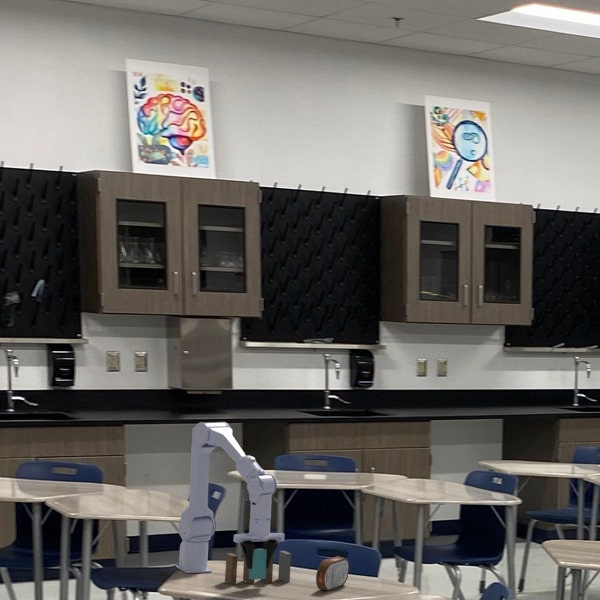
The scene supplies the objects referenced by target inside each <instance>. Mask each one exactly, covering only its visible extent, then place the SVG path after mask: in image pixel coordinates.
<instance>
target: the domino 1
mask: <svg viewBox="0 0 600 600" xmlns="http://www.w3.org/2000/svg"><path fill="white" fill-rule="evenodd" d="M238 557H239V556H238V555H236V554H234V553H232V552H227V553H226V555H225V572H224V574H225V575H224V582H225V581H226V582H228V583H230V584H236V585H237V575H238V574H237V573H238V571H237V570H238ZM226 582H225V583H226ZM228 583H227V584H228ZM230 584H229V585H230Z"/></svg>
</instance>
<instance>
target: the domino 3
mask: <svg viewBox="0 0 600 600" xmlns="http://www.w3.org/2000/svg"><path fill="white" fill-rule="evenodd" d="M273 568H274V554H273V555H272V558H271V560H270V564H269V568H266V579H260V581H261V582H263V583H266V584H273V575H274V573H273V571H274V569H273Z"/></svg>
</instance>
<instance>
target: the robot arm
mask: <svg viewBox="0 0 600 600" xmlns="http://www.w3.org/2000/svg"><path fill="white" fill-rule="evenodd" d="M233 431H234V430H233V428H231V426H230V425H229V424H228V423H227V422H225V421H217V422H202V421H201V422H198V423H197V424H196V425H194V427H193V428H192V432H191V446H190V447H191V449H190V450H191V451H190V469H189V471H190V473H189V475H190V476H189V497H188V499H189V501H188V503H189V504H188V506H187V507H186V508H185V509H184V510H183V511H182V512H181V513H180V521H179V523H178V527H177V528H178V533H179V536H180V538H181V540H182V541H181V543H180V545H179V560H178V564H177V565H175V567H176V568H177V569H179V570H181V571H182V572H184V573H185V574H197V573H199V574H200V573H201V574H202V573H212V572H213V570H212V569H210V568H208V560H209V559H208V557H209V556H208V555H209V554H208V553H209V541H210V540H211V538H212V536H214V533H215V530H216V522H215V520H214V512H213V511H212V510H211V509H210V508H209V476H210V475H209V474H210V455H211V453H212V452H213V450H215V449H216V448H218V447H220V448H221V449H223V450H224V452H226V454H227V455H228V456H229V457H230V458H231V459H232V460H233V461H234V462H235V470H236V471H237V472H238V473H239V475H240V476H241V477H242V479H243V480H244V482H245V483H246V489H247V492H248V495H249V497H248V499H249V502H250V512H249V527H248V528H249V529H248V530H249V531H248V533H239V534H233V542H234V543H237V544H239V545H240V547H241V549H242V551H243V555H245V559H246V564H247V568H249V569H252V565H253V552H254V549H256V548H255V547H256V545H254V543H255V542H256V543H257V542H262V546H263V548H262V549H266V550H267V560H266V568H269V564H270V560H271V558H272V555H273V556H274V552H276V550H277V547H278V546H279V543H278V542H285V533H283V532H271V517H272V499H273V495H274V494H275V493H276V491H277V487H278V485H277V484H278V483H277V479H276V478H275V476H274V475H273V474H271V473H268V472H265V470H264V469H263V468H262V467H261V465H259V463H258V462H257V460H256V458H255V457H254V456H251V455H246V453H245V451H244V450H243V449H242V448H241V446H240V444H239V443H238V441H237V440H236V439H235V437H234V432H233Z"/></svg>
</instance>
